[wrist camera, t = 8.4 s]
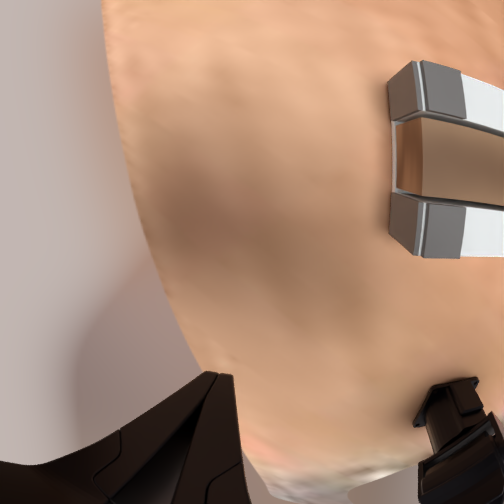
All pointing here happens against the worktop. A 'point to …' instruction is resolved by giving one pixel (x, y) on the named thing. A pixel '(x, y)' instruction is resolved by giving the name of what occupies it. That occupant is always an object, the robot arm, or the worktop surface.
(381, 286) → the worktop surface
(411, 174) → the peg
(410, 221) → the sleeve
